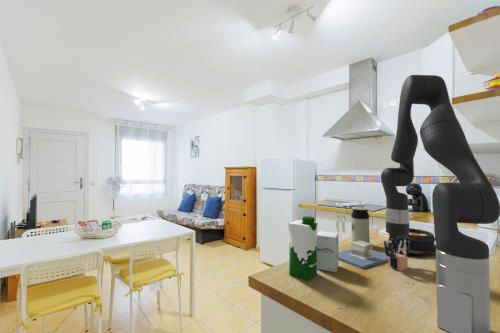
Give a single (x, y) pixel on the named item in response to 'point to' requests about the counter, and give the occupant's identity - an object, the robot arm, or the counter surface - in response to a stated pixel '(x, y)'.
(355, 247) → the cream block
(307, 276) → the milk carton
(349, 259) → the blue board
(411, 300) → the counter surface
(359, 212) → the travel mug
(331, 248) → the supplement box
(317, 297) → the counter surface
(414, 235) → the casserole
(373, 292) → the counter surface
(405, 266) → the terracotta cube
